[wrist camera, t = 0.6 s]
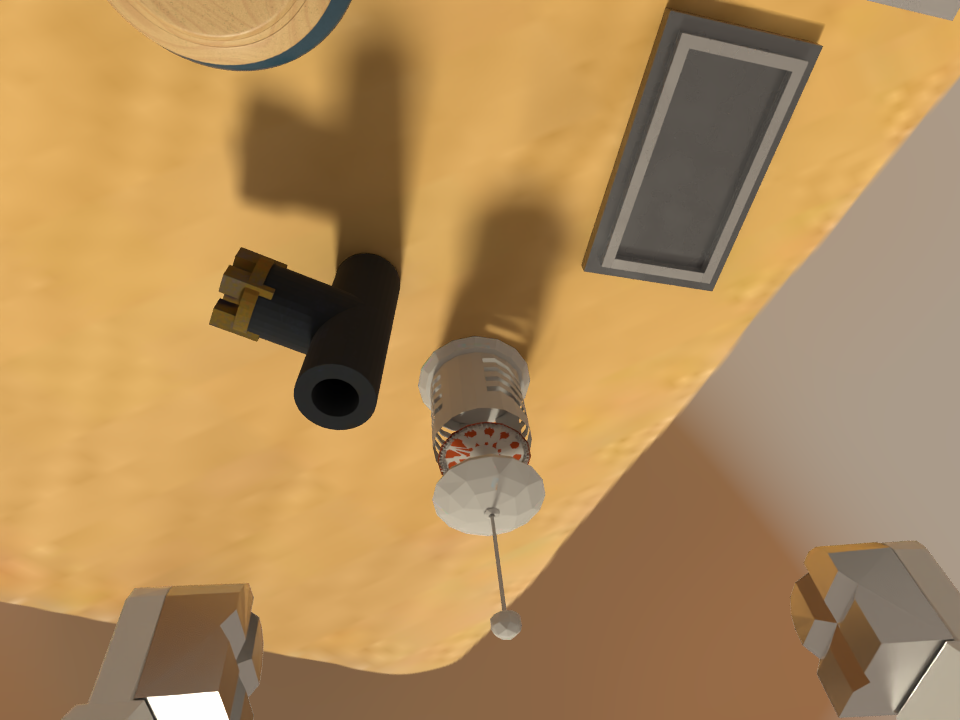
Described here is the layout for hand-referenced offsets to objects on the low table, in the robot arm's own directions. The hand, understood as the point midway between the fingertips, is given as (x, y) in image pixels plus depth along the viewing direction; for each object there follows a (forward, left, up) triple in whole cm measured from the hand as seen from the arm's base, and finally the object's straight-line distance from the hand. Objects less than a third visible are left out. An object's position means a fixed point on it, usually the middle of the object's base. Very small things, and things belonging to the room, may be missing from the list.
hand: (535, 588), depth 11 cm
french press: (+29, +9, -44) cm, 53 cm away
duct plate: (+6, +20, -44) cm, 48 cm away
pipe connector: (+19, -5, -44) cm, 48 cm away
